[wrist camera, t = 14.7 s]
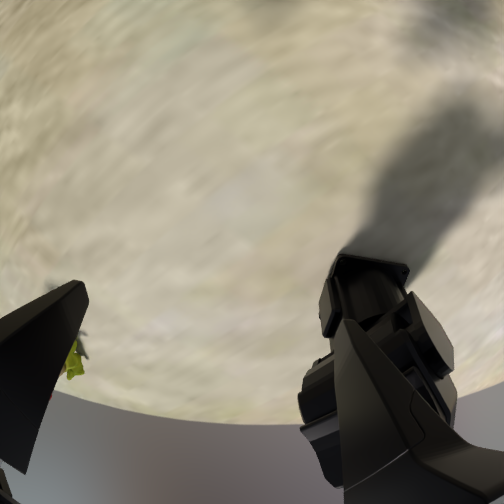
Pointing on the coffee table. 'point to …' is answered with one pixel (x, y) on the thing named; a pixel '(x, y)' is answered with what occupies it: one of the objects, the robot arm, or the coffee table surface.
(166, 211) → the coffee table surface
